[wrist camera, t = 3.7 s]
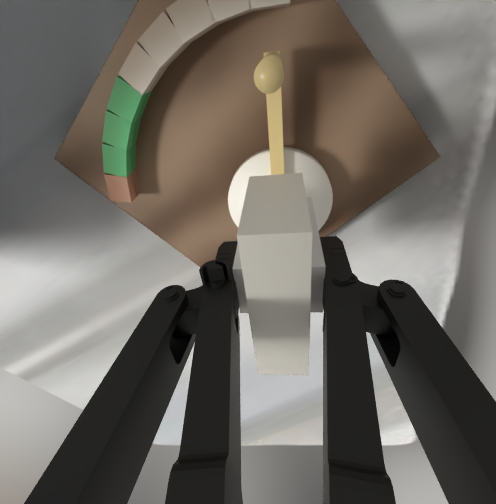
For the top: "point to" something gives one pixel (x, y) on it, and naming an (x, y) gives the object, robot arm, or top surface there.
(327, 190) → the peg
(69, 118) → the top surface
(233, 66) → the wooden base board
